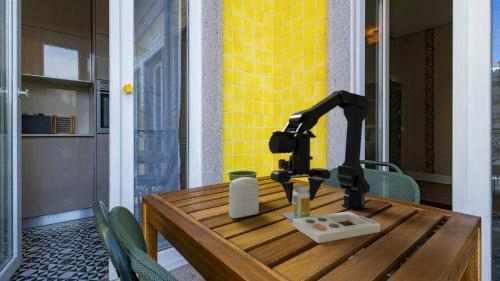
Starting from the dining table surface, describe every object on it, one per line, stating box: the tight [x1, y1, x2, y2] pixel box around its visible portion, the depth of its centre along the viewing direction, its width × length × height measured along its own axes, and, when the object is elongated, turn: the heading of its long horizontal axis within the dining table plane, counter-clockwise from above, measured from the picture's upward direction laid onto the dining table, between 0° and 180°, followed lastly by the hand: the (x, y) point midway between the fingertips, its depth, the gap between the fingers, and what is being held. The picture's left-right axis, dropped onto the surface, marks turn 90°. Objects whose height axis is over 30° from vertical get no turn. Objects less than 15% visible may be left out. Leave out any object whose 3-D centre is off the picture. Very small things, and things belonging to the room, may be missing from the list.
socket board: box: [292, 211, 381, 244], centre depth 70 cm, size 20×12×3 cm, turn 110°
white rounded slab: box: [228, 177, 260, 219], centre depth 81 cm, size 10×4×12 cm, turn 123°
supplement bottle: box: [291, 184, 311, 218], centre depth 79 cm, size 5×5×10 cm
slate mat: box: [280, 211, 315, 223], centre depth 79 cm, size 9×9×1 cm
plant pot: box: [227, 170, 258, 182], centre depth 98 cm, size 12×12×11 cm
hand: (300, 201), depth 79 cm, fingers open, 7 cm apart
